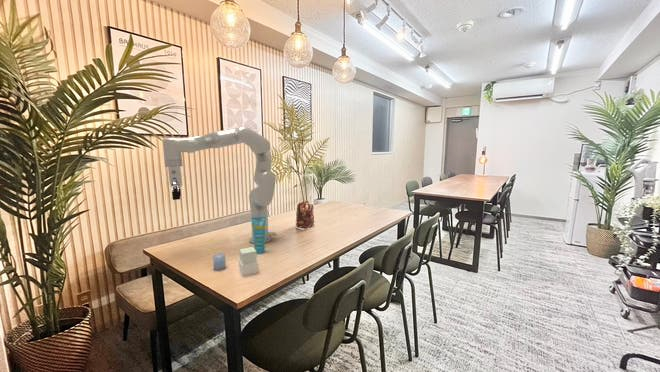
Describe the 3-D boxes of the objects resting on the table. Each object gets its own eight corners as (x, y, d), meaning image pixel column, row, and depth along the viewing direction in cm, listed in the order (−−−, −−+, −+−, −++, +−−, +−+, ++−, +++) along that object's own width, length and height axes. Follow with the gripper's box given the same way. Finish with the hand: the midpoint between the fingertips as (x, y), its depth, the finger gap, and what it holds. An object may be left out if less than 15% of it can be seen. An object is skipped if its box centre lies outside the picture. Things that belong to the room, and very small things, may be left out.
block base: (254, 267, 126) (254, 256, 125) (258, 272, 120) (258, 262, 119) (239, 270, 122) (238, 259, 122) (242, 276, 116) (241, 265, 116)
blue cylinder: (225, 264, 128) (224, 252, 127) (226, 269, 123) (225, 256, 123) (213, 267, 125) (212, 254, 125) (214, 271, 121) (213, 258, 120)
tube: (252, 254, 140) (250, 218, 137) (253, 251, 145) (251, 216, 142) (267, 253, 142) (265, 217, 139) (267, 249, 146) (265, 215, 144)
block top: (253, 257, 124) (252, 246, 124) (256, 261, 119) (256, 251, 118) (239, 259, 121) (239, 249, 121) (242, 264, 116) (242, 253, 116)
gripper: (181, 164, 126) (185, 200, 129) (182, 162, 142) (185, 194, 144) (163, 164, 123) (166, 201, 125) (166, 163, 138) (169, 196, 141)
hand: (177, 197), depth 135 cm, fingers open, 9 cm apart
